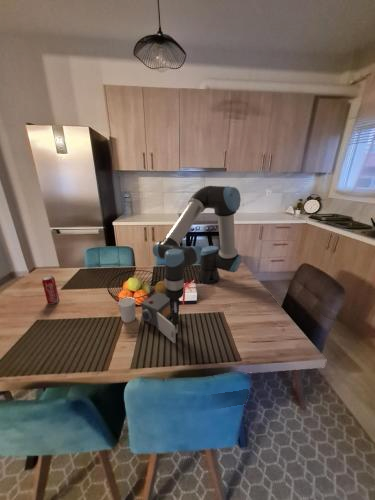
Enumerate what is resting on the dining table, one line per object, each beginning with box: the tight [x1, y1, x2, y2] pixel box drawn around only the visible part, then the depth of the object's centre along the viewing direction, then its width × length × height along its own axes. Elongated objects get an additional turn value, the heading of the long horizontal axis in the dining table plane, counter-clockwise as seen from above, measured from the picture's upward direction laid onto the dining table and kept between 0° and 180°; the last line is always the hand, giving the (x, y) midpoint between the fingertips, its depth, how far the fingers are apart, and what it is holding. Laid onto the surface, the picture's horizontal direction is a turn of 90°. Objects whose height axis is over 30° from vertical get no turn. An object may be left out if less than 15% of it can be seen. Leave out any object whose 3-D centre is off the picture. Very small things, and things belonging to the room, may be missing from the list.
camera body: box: [141, 292, 172, 328], centre depth 103 cm, size 14×10×11 cm
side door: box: [156, 312, 177, 344], centre depth 92 cm, size 12×2×9 cm, turn 43°
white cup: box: [118, 296, 137, 324], centre depth 103 cm, size 8×8×10 cm
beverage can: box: [41, 275, 60, 305], centre depth 115 cm, size 6×6×15 cm
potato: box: [154, 280, 166, 295], centre depth 122 cm, size 10×13×9 cm
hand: (174, 332), depth 93 cm, fingers closed
